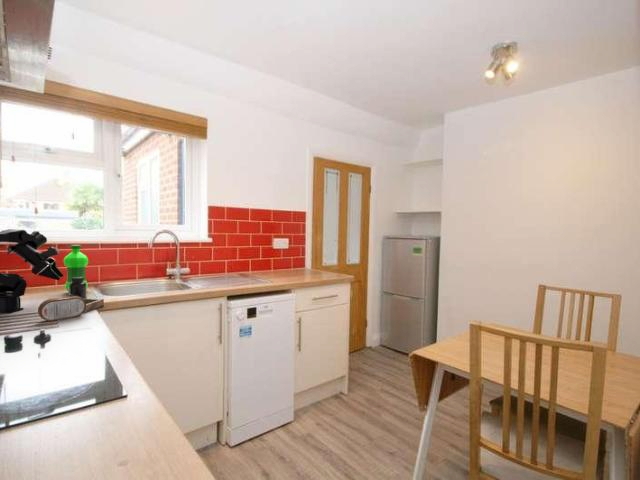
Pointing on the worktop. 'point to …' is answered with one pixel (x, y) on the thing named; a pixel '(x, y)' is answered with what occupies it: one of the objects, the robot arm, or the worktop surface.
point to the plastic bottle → (75, 264)
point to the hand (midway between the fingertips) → (61, 277)
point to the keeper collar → (93, 304)
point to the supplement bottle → (78, 287)
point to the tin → (61, 308)
